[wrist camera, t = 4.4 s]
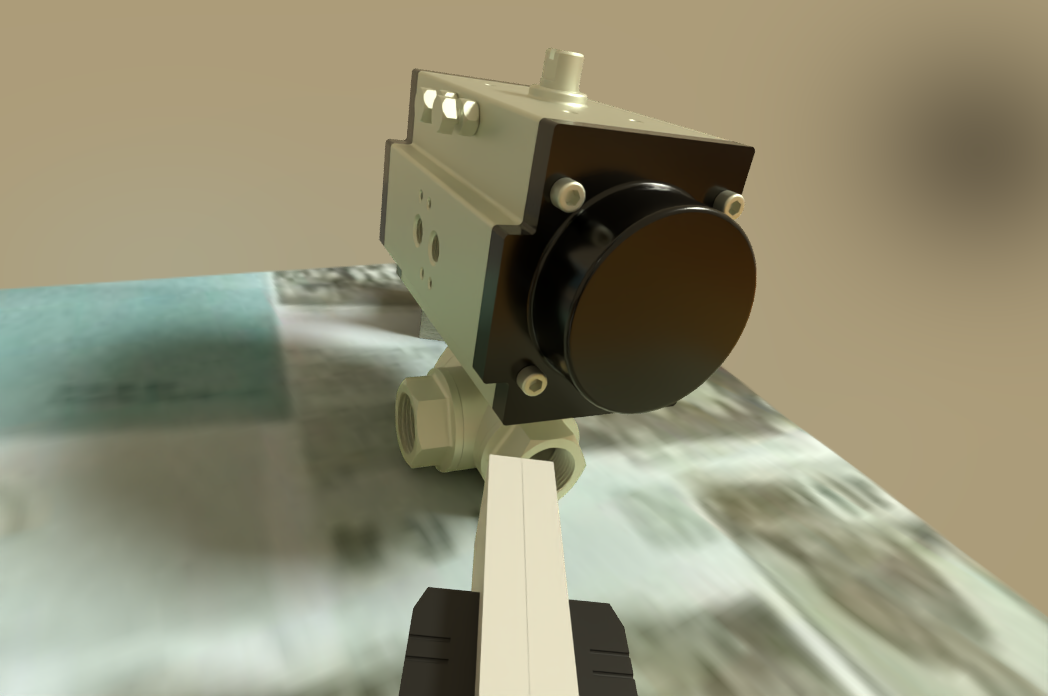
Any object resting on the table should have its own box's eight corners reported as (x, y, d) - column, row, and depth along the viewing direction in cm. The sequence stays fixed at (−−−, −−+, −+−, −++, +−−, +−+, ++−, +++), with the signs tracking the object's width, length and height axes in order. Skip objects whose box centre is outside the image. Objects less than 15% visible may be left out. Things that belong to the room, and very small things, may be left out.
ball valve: (354, 369, 35) (372, 16, 27) (493, 360, 39) (543, 47, 31) (463, 630, 21) (563, 50, 13) (665, 576, 25) (834, 99, 17)
